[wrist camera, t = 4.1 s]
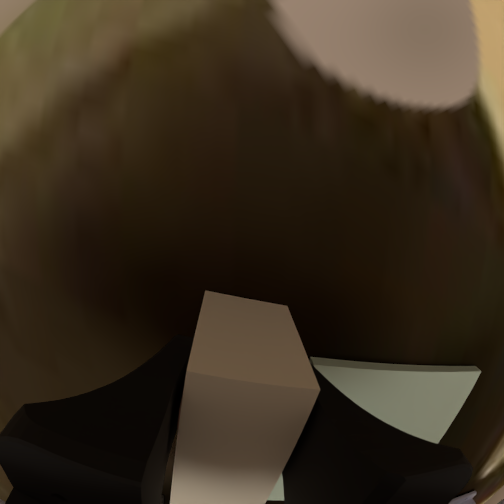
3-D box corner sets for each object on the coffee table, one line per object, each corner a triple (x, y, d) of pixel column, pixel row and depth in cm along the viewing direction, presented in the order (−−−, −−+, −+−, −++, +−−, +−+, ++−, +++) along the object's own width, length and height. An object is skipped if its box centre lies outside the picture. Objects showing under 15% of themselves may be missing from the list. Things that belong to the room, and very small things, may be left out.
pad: (475, 365, 13) (481, 371, 12) (398, 483, 15) (401, 489, 15) (310, 356, 12) (313, 364, 11) (254, 491, 14) (255, 499, 14)
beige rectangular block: (288, 306, 11) (322, 389, 7) (235, 472, 14) (238, 549, 9) (203, 289, 11) (184, 370, 6) (176, 463, 13) (165, 540, 8)
